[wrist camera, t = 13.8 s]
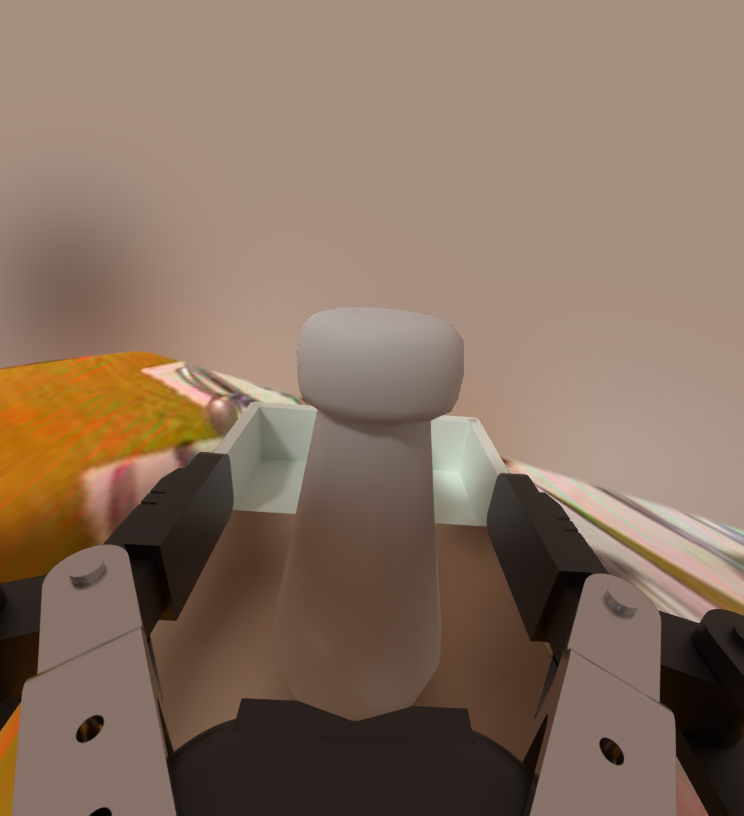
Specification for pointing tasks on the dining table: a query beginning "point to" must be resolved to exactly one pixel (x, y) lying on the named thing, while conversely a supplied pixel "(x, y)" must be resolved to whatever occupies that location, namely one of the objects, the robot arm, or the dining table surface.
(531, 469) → the dining table surface
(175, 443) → the dining table surface
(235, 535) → the board
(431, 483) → the salt shaker
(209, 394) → the dining table surface
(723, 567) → the dining table surface
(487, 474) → the tray
